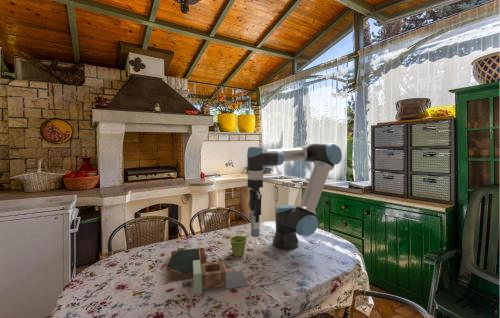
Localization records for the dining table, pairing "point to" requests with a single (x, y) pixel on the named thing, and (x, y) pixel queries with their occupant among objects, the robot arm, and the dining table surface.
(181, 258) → the book
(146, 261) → the dining table surface
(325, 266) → the dining table surface
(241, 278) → the runner mat
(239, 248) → the plant pot
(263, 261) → the dining table surface
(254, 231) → the dowel
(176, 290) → the dining table surface
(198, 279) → the wall
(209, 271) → the socket block
